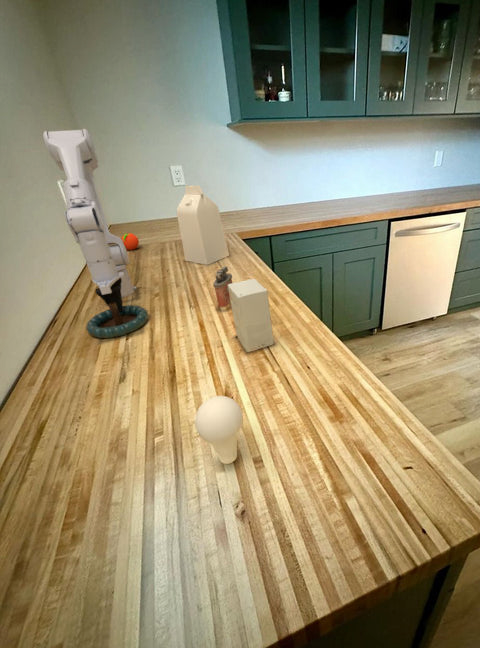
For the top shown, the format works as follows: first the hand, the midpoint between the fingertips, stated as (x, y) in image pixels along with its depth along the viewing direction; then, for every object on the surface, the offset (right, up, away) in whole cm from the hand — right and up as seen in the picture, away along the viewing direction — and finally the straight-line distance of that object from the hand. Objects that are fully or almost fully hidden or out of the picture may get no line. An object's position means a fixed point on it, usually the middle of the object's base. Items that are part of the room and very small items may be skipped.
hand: (118, 309), depth 87 cm
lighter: (+27, +2, +6) cm, 28 cm away
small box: (+37, -8, -11) cm, 40 cm away
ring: (+2, -3, -4) cm, 6 cm away
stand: (+3, -5, -3) cm, 6 cm away
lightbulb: (+37, -24, -39) cm, 59 cm away
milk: (+11, +22, +43) cm, 50 cm away
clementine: (-26, +29, +60) cm, 71 cm away
